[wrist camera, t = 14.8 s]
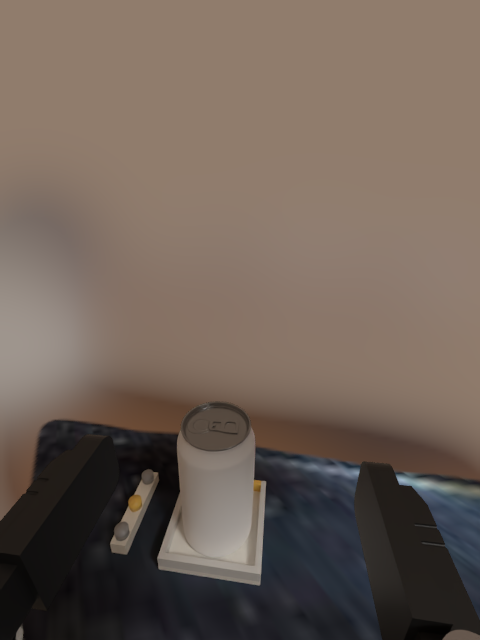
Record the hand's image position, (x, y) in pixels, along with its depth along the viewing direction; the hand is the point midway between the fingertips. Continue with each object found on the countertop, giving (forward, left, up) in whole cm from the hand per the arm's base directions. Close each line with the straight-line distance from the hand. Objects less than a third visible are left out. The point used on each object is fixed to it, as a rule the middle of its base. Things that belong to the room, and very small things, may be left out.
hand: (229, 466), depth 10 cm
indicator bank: (+11, -12, -21) cm, 27 cm away
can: (+3, -12, -21) cm, 24 cm away
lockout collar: (+3, -12, -21) cm, 25 cm away
